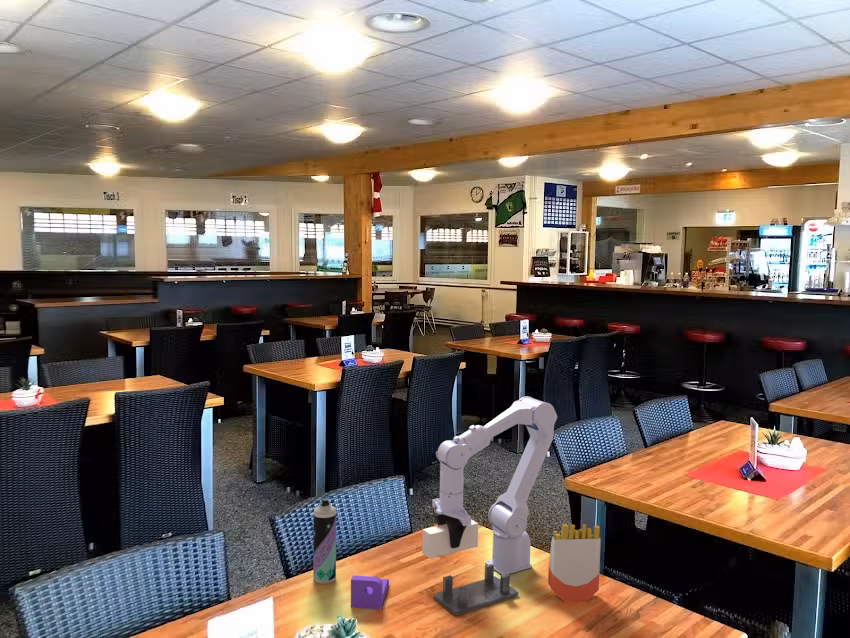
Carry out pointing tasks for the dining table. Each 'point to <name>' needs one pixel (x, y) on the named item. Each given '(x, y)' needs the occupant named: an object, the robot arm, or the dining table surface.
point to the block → (447, 540)
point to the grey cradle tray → (475, 593)
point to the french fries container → (575, 563)
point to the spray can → (324, 543)
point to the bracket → (368, 592)
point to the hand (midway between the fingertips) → (450, 544)
